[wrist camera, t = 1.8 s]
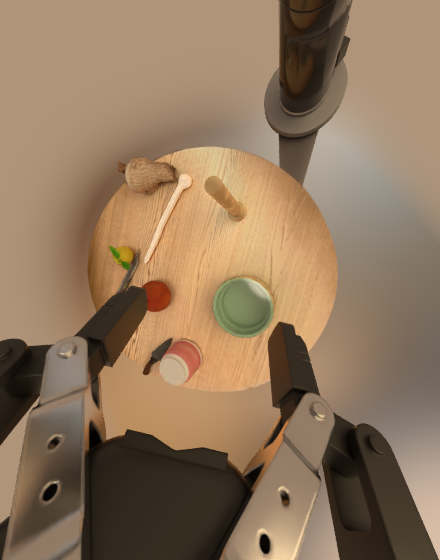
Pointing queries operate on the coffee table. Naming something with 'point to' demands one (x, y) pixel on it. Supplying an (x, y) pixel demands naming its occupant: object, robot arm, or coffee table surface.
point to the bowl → (244, 306)
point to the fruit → (157, 296)
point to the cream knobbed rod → (168, 212)
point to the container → (180, 362)
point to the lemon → (122, 256)
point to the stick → (225, 198)
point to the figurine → (146, 174)
